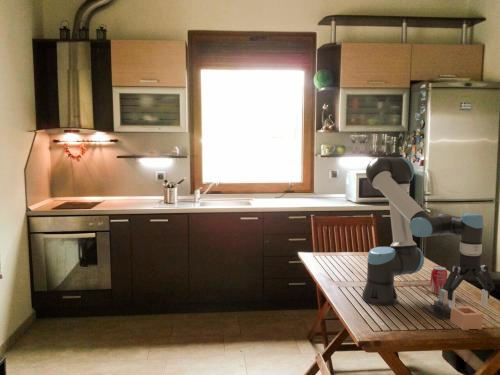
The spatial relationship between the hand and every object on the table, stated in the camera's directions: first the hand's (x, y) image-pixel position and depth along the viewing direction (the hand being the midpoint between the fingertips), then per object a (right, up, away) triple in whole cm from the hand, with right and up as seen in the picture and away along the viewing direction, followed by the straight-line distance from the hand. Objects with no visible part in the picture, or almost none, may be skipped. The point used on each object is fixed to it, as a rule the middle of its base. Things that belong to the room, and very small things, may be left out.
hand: (467, 307), depth 170 cm
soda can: (+5, -4, +38) cm, 39 cm away
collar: (0, -7, +1) cm, 7 cm away
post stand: (-3, -6, +14) cm, 15 cm away
